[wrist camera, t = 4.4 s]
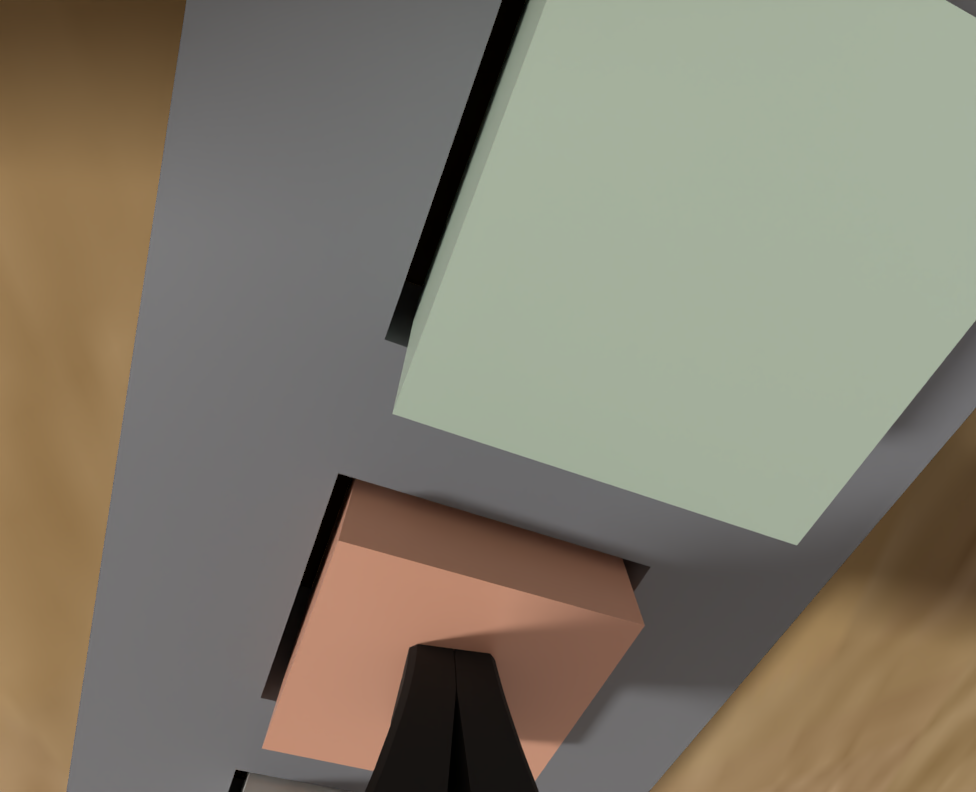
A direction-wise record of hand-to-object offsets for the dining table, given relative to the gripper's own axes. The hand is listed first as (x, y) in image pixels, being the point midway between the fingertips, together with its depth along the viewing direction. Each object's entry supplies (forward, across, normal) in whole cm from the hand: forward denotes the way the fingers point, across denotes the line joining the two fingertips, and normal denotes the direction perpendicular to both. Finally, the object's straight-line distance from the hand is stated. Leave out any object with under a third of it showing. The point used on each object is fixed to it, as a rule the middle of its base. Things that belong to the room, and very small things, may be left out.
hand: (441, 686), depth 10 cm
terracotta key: (+4, 0, 0) cm, 4 cm away
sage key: (+3, -1, -8) cm, 8 cm away
